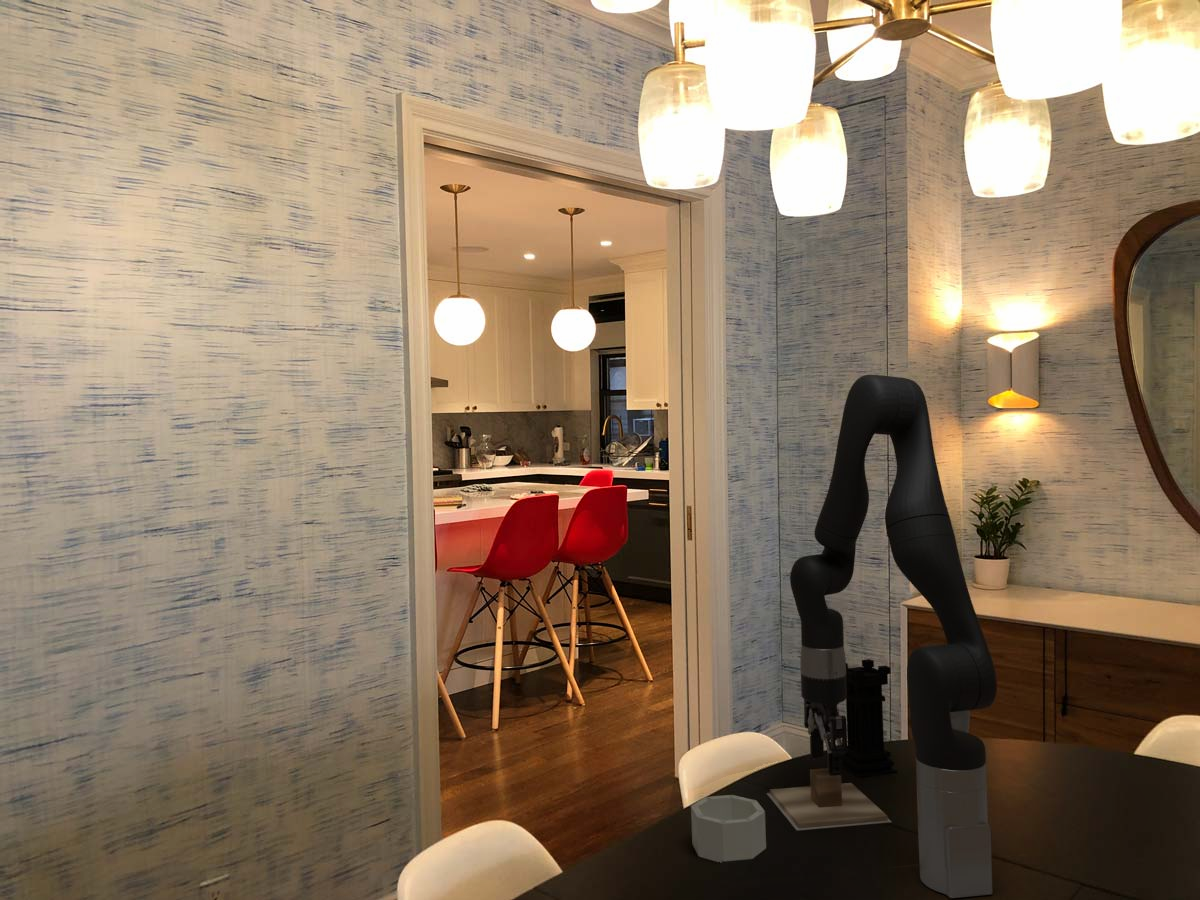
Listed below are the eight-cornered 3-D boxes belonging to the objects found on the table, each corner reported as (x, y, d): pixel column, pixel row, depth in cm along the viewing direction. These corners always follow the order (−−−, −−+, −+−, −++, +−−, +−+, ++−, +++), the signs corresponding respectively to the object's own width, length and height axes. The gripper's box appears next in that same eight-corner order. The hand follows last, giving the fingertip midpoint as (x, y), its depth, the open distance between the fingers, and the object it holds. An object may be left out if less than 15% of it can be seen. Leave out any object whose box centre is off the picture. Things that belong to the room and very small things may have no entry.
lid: (887, 820, 148) (886, 785, 148) (798, 828, 146) (797, 792, 146) (851, 787, 163) (850, 754, 163) (770, 794, 161) (769, 761, 161)
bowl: (772, 859, 137) (771, 819, 137) (703, 865, 135) (702, 825, 135) (752, 830, 147) (750, 793, 147) (688, 835, 146) (686, 798, 146)
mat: (892, 824, 148) (892, 821, 148) (796, 832, 146) (796, 830, 146) (852, 788, 163) (852, 786, 163) (766, 795, 161) (766, 793, 161)
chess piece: (859, 780, 167) (855, 671, 167) (836, 766, 175) (833, 662, 175) (897, 774, 169) (893, 667, 169) (873, 761, 177) (869, 658, 177)
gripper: (860, 681, 148) (863, 779, 148) (829, 659, 162) (831, 749, 163) (816, 683, 147) (819, 783, 148) (788, 662, 161) (791, 752, 162)
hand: (825, 765), depth 155 cm, fingers open, 8 cm apart
